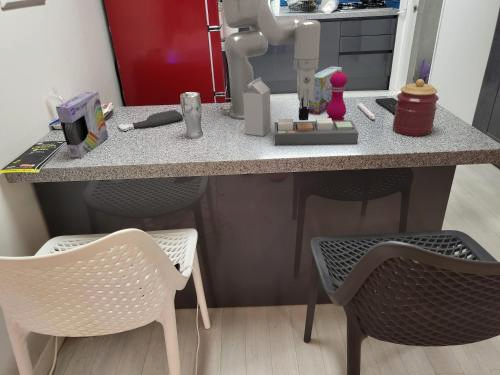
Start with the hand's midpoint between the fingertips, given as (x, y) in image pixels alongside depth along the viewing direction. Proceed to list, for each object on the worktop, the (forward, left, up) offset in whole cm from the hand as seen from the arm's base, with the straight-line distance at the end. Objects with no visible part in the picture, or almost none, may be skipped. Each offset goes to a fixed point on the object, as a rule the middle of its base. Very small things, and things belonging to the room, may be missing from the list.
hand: (303, 119), depth 125 cm
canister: (+38, +5, -7) cm, 39 cm away
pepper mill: (+13, +15, -7) cm, 21 cm away
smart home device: (+39, +32, -7) cm, 51 cm away
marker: (+27, +25, -7) cm, 37 cm away
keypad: (+4, -1, -7) cm, 8 cm away
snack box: (+11, +34, -7) cm, 37 cm away
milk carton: (-16, +6, -7) cm, 18 cm away
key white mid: (+7, -1, -4) cm, 8 cm away
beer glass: (-39, +4, -7) cm, 40 cm away
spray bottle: (-59, +18, -7) cm, 62 cm away
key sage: (+13, -1, -6) cm, 15 cm away
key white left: (-6, -1, -4) cm, 7 cm away
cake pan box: (-74, -6, -7) cm, 74 cm away
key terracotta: (0, -1, -6) cm, 6 cm away
